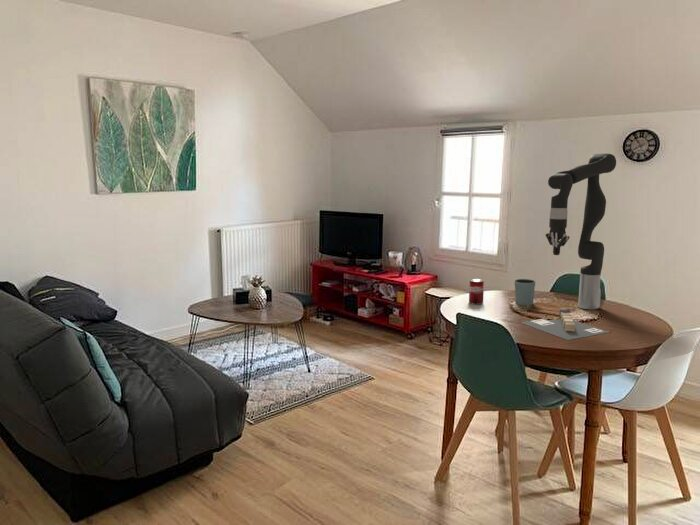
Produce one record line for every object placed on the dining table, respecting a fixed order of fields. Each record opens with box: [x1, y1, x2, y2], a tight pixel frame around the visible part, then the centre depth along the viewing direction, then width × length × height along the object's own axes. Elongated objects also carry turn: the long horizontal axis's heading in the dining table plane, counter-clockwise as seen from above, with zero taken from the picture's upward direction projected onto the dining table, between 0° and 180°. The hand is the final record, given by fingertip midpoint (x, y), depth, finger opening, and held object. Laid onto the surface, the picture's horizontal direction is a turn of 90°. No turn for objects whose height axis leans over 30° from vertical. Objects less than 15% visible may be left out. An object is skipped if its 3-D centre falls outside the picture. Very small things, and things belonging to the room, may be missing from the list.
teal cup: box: [514, 278, 536, 306], centre depth 275 cm, size 10×10×12 cm
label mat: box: [519, 318, 610, 341], centre depth 235 cm, size 24×28×1 cm
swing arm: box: [558, 307, 575, 331], centre depth 239 cm, size 23×4×4 cm, turn 165°
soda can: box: [468, 278, 485, 305], centre depth 277 cm, size 7×7×12 cm
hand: (556, 254), depth 249 cm, fingers closed
